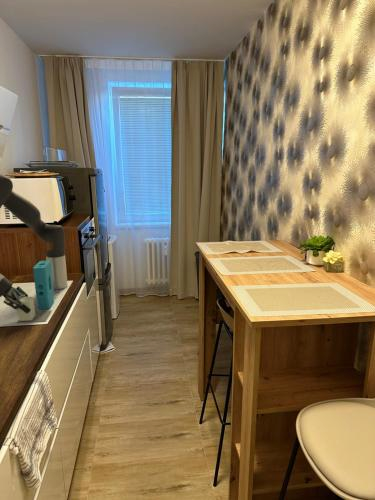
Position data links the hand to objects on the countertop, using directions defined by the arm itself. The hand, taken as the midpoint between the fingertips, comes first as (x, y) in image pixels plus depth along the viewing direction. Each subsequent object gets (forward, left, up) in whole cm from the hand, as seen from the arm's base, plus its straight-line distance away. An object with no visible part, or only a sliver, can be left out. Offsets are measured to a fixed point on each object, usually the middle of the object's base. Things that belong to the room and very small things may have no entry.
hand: (31, 309), depth 147 cm
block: (-14, +2, -5) cm, 15 cm away
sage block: (0, -2, -4) cm, 4 cm away
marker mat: (-2, 0, -5) cm, 5 cm away
